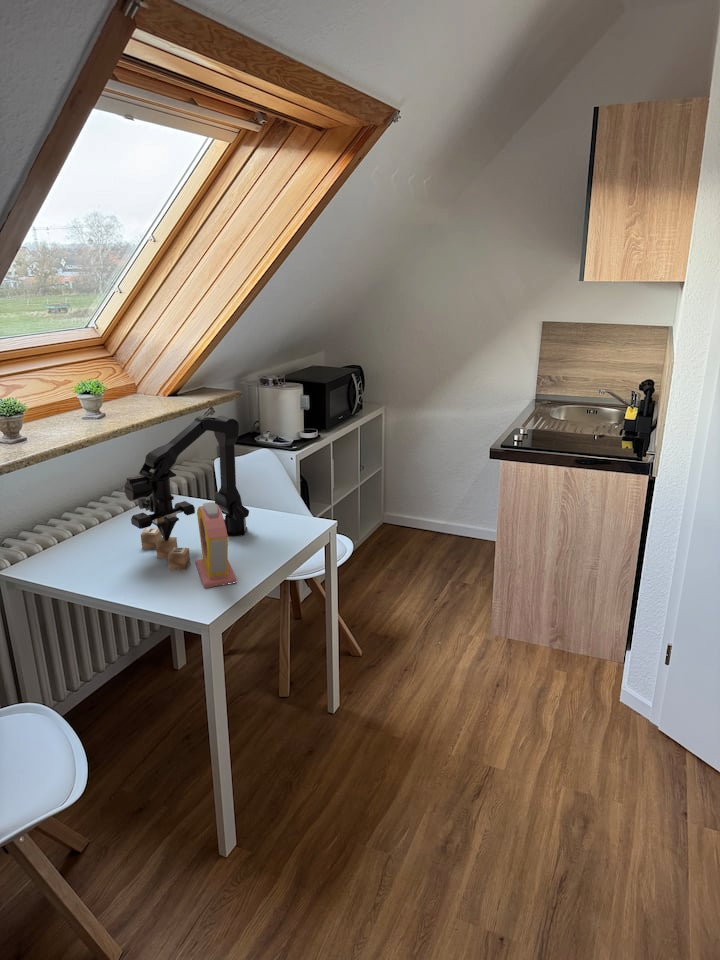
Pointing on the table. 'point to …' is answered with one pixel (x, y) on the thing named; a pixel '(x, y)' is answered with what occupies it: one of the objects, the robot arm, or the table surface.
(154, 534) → the numbered block
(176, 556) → the numbered block
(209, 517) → the pink yellow upright block
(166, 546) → the plain block
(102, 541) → the table surface
